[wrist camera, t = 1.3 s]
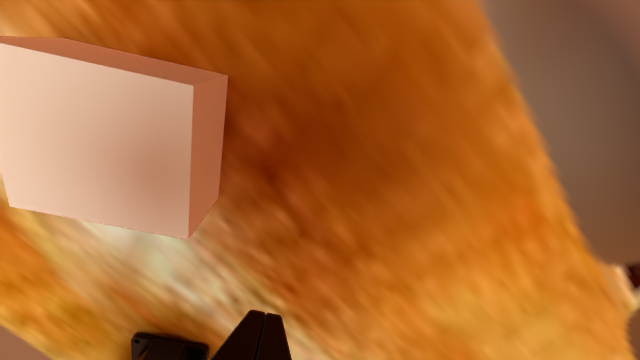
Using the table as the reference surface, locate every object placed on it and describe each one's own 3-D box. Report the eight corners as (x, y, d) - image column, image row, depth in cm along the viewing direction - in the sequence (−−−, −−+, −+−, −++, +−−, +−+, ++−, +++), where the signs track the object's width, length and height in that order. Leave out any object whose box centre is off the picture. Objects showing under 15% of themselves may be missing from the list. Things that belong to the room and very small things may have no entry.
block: (219, 195, 20) (188, 239, 16) (83, 168, 20) (9, 206, 15) (229, 74, 17) (193, 85, 12) (66, 37, 16) (-35, 35, 12)
